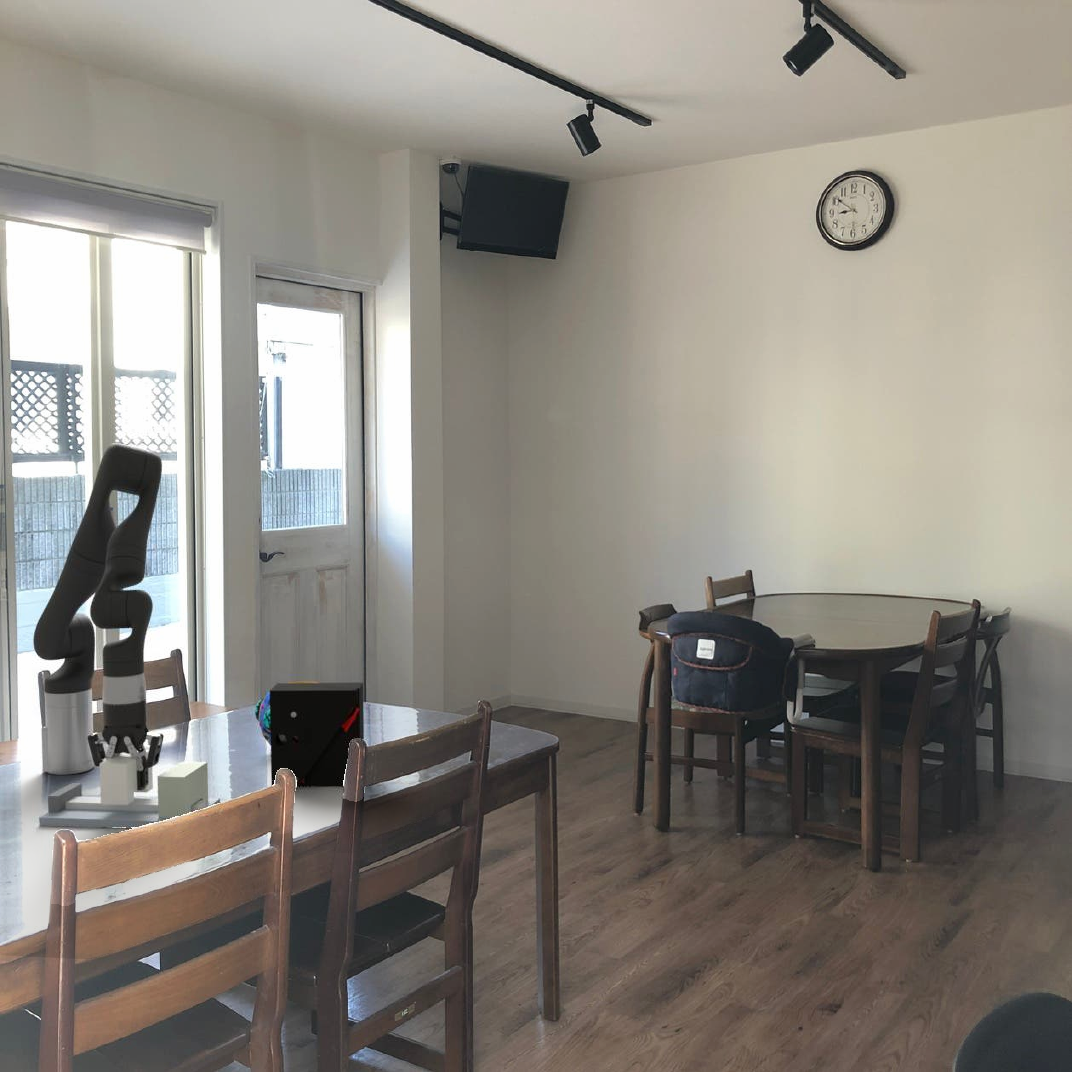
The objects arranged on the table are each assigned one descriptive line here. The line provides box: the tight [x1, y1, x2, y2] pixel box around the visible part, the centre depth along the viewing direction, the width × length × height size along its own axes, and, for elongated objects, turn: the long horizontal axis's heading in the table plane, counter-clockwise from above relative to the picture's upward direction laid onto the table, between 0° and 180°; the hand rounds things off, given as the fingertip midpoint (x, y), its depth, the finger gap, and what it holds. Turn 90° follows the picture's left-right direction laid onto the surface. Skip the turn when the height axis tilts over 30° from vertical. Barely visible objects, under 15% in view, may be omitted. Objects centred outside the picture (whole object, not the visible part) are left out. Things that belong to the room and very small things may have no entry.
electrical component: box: [269, 681, 365, 789], centre depth 218 cm, size 18×10×20 cm, turn 92°
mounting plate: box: [38, 760, 221, 829], centre depth 197 cm, size 28×14×9 cm, turn 84°
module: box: [99, 748, 154, 805], centre depth 197 cm, size 5×10×8 cm, turn 174°
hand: (127, 788), depth 198 cm, fingers closed on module, 5 cm apart
